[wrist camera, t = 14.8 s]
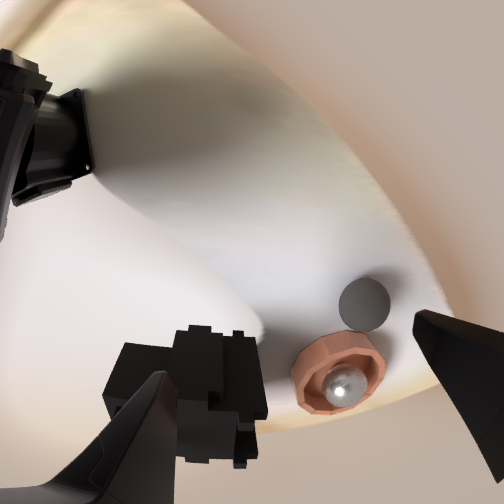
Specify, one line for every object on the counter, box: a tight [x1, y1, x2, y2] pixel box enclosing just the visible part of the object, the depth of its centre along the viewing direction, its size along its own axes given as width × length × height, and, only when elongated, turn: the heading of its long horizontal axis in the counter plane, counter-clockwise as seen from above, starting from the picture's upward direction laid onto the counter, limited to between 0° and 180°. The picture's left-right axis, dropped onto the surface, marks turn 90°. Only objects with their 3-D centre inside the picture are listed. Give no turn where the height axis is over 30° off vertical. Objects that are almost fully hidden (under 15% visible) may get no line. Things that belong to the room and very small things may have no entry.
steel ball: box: [322, 363, 367, 407], centre depth 22 cm, size 4×4×4 cm
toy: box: [102, 325, 268, 469], centre depth 16 cm, size 8×14×10 cm
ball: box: [339, 279, 390, 332], centre depth 20 cm, size 4×4×4 cm
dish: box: [290, 330, 386, 415], centre depth 23 cm, size 8×8×2 cm
